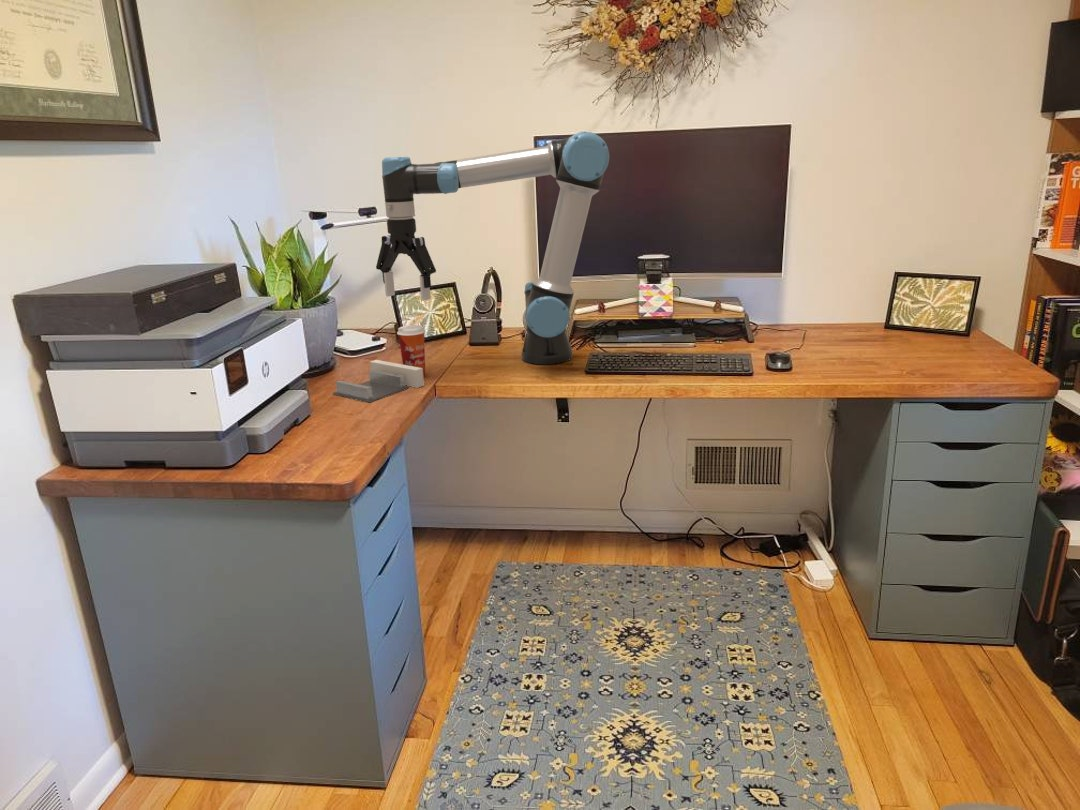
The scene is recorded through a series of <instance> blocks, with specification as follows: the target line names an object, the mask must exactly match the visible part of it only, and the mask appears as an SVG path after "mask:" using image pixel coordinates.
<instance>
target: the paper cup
mask: <svg viewBox="0 0 1080 810" xmlns="http://www.w3.org/2000/svg"><path fill="white" fill-rule="evenodd" d="M397 330H398V331H397V332H396V333H397V335H398V340H399V341H398V342H399V347H400V354H401V359H402V361H401V362H402V364H403V365H408V366H414V367H419V368H423V378H424V377H425V376H426V356H425V355H426V354H425V353H426V352H425V349H426V348H425V332H426V330H425V328H424V327H423V326H422V325H418V324H409V325H403V326H400V327H399V328H398V329H397Z"/></svg>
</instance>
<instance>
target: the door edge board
mask: <svg viewBox="0 0 1080 810" xmlns="http://www.w3.org/2000/svg"><path fill="white" fill-rule="evenodd" d="M369 366H370V371H371V370H376V371H381V372H386V373H392V374H397V375H402V376H404V383H405V385H407V386H408V387H409V386H411V387H410V388H414V387H415V388H414V389H419V387H420V388H422V387H421V386H423V387H425V382H424V377H423V368H419V367H414V366H408V365H403V363H402V364H401V363H397V362H393V361H392V362H390V361H384V360H380V359H375V360H371V361H369Z"/></svg>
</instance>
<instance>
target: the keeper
mask: <svg viewBox="0 0 1080 810" xmlns="http://www.w3.org/2000/svg"><path fill="white" fill-rule="evenodd" d="M368 377H369V380H367V381H364V382H361V383H354V382H349V381H344V380H338V381H335V386H336V391H334V392H333V393H332V394H333V396H334V395H335V396H338V395H339V396H338V397H342V396H344V397H343V398H346V397H348V398H347V399H351V398H352V400H355V399H357V400H356V401H360V400H361V401H360V402H364V401H365V403H368V402H371V403H373V402H376V401H378V400H377V399H379V400H381V399H380V398H382V399H384V398H386V397H385V396H387V397H389V396H388V395H390V396H392V395H395V394H398V393H400V392H399V391H401V390H403V391H405V390H404V389H406V390H408V389H407V388H409V389H410V387H409V386H405V383H404V376H402V375H397V374H392V373H386V372H381V371H376V370H371V369H370V370H369V371H368ZM397 392H398V393H397ZM401 392H402V391H401ZM394 393H395V394H394ZM391 394H392V395H391ZM383 397H384V398H383ZM375 400H376V401H375ZM372 401H373V402H372Z"/></svg>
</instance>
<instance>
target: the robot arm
mask: <svg viewBox="0 0 1080 810" xmlns="http://www.w3.org/2000/svg"><path fill="white" fill-rule="evenodd" d="M609 162H610V151H609V147H608V145H607V142H606V141H605V140H604V139H603V138H602V137H601V136H600V135H598V134H596V133H594V132H591V131H580V132H577V133H575V134H573V135H571V136H568V137H565V138H562V139H556V140H553V141H549V142H548V144H547V145H546V146H538V147H532V148H527V149H520V150H513V151H507V152H506V151H505V152H500V153H494V154H487V155H480V156H475V157H469V158H462V159H461V158H460V159H455V160H447V161H438V162H434V163H421V164H419V163H418V164H416V163H412V161H411V158H410V156H394V157H393V156H391V157H385V158H383V159H382V161H381V168H382V169H381V171H382V175H381V177H382V186H383V194H384V195H383V196H384V206H385V215H386V217H387V218H388V219H387V220H386V226H387V227H386V228H387V233H388V234H389V235H383V236H381V245H380V249H379V254H378V258H377V260H376V261H377V263H376V266H375V268H376V270H380V272H381V273H382V281H383V284H384V290H385V297H386V298H387V297H392V296H396V293H395V283H394V282H395V281H394V279H395V278H394V272H393V270H392V268H393V266H394V264H395V262H396V260H397V258H398V257H399V255H401V254H402V255H407V256H408V257H409V258H410V259H411V261H412V262H413V264H414V266H415V267H416V268H417V270H418V272H419V273H420V275H419V286H420V287H419V288H420V296H421V297H420V299H421V301H428V300H431V289H430V288H431V287H432V283H431V275H432V274H436V273H437V269H436V267H435V264H434V263H433V260H432V258H431V255H430V252H429V250H428V248H427V245H426V241H425V240H426V239H425V237H423V236H421V237H416V236H415V233H416V232H417V225H416V224H417V223H416V219H415V218H414V217H415V215H416V212H415V211H416V210H415V201H414V200H415V199H414V195H422V194H424V195H429V194H431V195H434V194H435V195H436V194H444V195H447V194H452V193H456V192H458V191H459V189H463V188H469V187H475V186H482V185H483V186H484V185H489V184H496V183H503V182H510V181H517V180H524V179H530V178H538V177H543V176H549V175H550V176H552V177H553V178H555V180H556V183H557V184H558V186H559V188H560V189H559V193H558V198H557V202H556V206H555V211H554V214H553V217H552V223H551V227H550V231H549V236H548V241H547V245H546V249H545V253H544V257H543V262H542V265H541V270H540V275H539V277H538V278H537V279H534V280H533V281H530V282H527V283H526V284H525V286H524V295H525V298H524V301H525V323H526V335H525V338H524V339H525V340H524V344H523V346H522V350H521V360H522V361H523V362H525V363H528V364H532V363H533V364H534V365H554V364H555V363H557V364H561V363H560V362H563V363H565V362H564V361H566V362H568V361H567V360H569V359H571V358H572V359H573V349H572V346H571V343H570V340H569V338H568V337H569V336H568V333H567V329H566V328H567V327H568V325H569V322H570V319H571V317H570V316H571V315H570V311H571V305H572V302H573V299H574V293H575V291H574V289H573V287H572V285H571V282H572V278H573V276H574V275H573V274H574V271H575V266H576V263H577V259H578V256H579V255H578V254H579V250H580V246H581V243H582V239H583V234H584V230H585V226H586V222H587V219H588V214H589V210H590V205H591V201H592V197H593V196H594V195H596V194H597V193H598V192H600V189H601V185H602V182H603V177H604V173H605V172H606V170H607V168H608V167H609V164H610V163H609ZM572 359H571V360H572ZM569 361H570V360H569Z"/></svg>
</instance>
